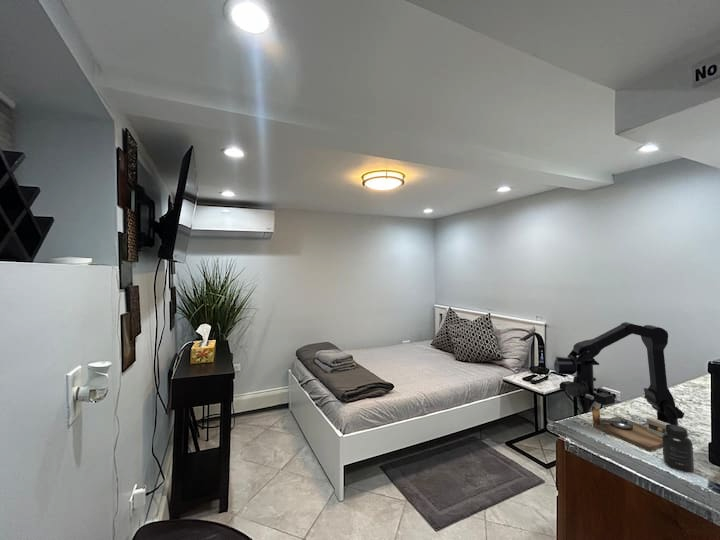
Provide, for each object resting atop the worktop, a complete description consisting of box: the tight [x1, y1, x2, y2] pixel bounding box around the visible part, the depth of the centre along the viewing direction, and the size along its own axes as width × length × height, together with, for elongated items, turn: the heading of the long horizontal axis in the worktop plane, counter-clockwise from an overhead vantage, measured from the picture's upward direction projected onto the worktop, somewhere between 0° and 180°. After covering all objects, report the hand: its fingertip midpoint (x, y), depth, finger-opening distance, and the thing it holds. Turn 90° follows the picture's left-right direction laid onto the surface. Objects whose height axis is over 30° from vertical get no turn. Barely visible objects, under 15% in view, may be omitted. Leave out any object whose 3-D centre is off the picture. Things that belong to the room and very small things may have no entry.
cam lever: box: [591, 405, 633, 429], centre depth 123 cm, size 13×7×6 cm, turn 70°
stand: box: [592, 415, 669, 453], centre depth 119 cm, size 15×19×6 cm
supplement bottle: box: [662, 424, 695, 473], centre depth 99 cm, size 7×7×12 cm
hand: (586, 413), depth 127 cm, fingers closed
